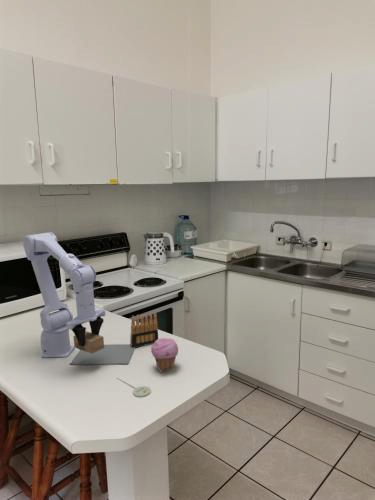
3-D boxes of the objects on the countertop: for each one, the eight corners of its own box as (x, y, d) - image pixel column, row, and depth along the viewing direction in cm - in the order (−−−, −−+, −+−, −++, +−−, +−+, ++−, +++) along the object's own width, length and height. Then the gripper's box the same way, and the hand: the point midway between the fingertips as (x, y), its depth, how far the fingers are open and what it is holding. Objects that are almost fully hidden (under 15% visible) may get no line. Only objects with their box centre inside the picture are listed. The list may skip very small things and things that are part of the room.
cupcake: (149, 364, 125) (147, 336, 124) (173, 359, 129) (172, 332, 127) (157, 377, 117) (155, 347, 115) (182, 371, 120) (181, 342, 119)
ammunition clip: (131, 347, 138) (131, 316, 136) (130, 345, 139) (129, 315, 137) (158, 342, 143) (158, 312, 141) (156, 340, 144) (156, 310, 142)
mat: (69, 364, 127) (69, 363, 127) (84, 345, 142) (84, 344, 142) (128, 364, 126) (128, 363, 126) (136, 345, 141) (136, 344, 141)
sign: (123, 374, 120) (154, 390, 109) (123, 376, 120) (154, 392, 109) (109, 380, 116) (140, 397, 106) (110, 382, 116) (140, 400, 106)
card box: (74, 347, 125) (73, 336, 125) (86, 341, 130) (85, 331, 129) (92, 353, 120) (91, 342, 120) (104, 347, 124) (103, 336, 124)
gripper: (75, 312, 114) (78, 353, 117) (110, 299, 126) (113, 337, 128) (60, 308, 118) (64, 348, 121) (96, 296, 130) (99, 332, 132)
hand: (88, 342), depth 125 cm, fingers closed on card box, 5 cm apart
